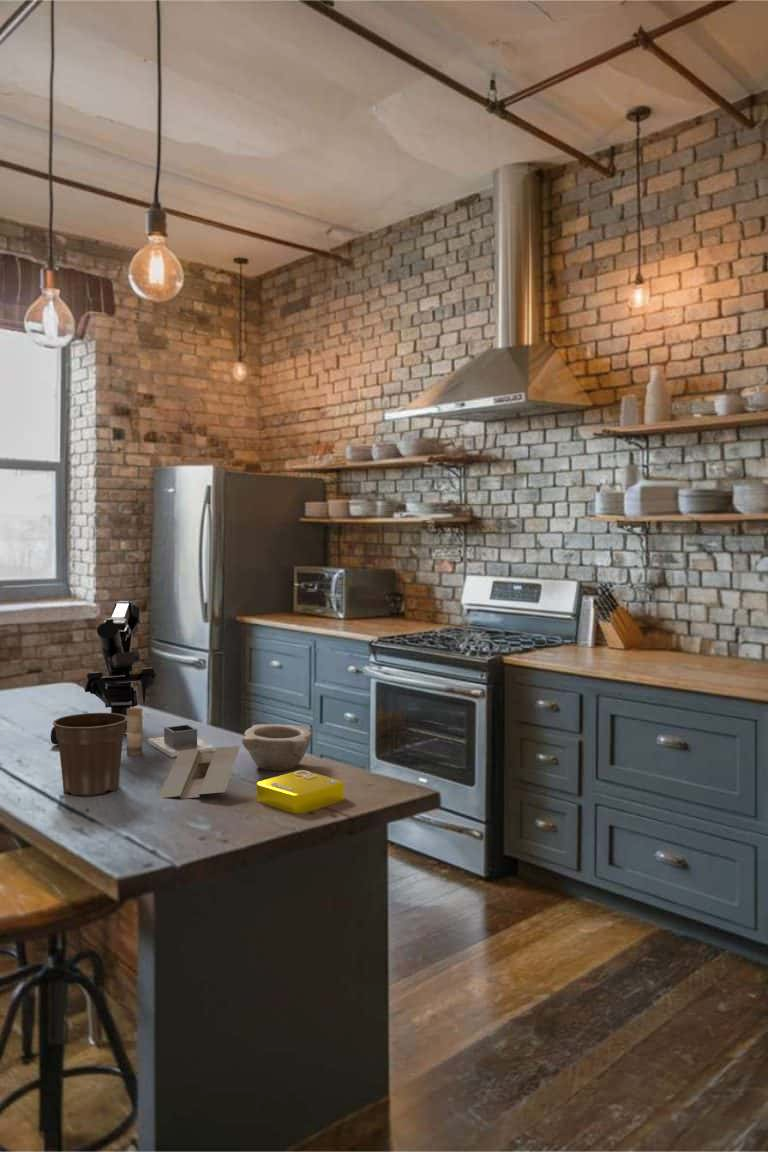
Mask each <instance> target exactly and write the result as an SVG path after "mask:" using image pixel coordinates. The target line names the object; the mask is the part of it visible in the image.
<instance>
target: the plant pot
mask: <svg viewBox="0 0 768 1152" xmlns="http://www.w3.org/2000/svg"><path fill="white" fill-rule="evenodd" d="M127 720H128V717H127V716H125V715H122V714H116V713H111V712H88V713H77V714H69V715H66V716H61V717H59V718H56V719H55V720H53V721H52V724H53V727H54V726H55V729H56V738H57V740H58V743H59V745H58V750H59V751H58V752H59V758H60V767H61V778H62V789H63V792H64V793H65V794H70V795H73V796H79V797H80V796H81V797H90V796H91V797H92V796H97V795H103V794H105V793H106V792H113V791H115V790H117V789H118V788H119V786H120V779H121V778H120V776H121V765H122V764H121V763H122V752H123V751H122V750H123V741H124V737H125V736H124V735H125V734H126V728H125V724H126V721H127Z"/></svg>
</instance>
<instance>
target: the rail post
mask: <svg viewBox="0 0 768 1152" xmlns="http://www.w3.org/2000/svg"><path fill="white" fill-rule="evenodd" d="M127 717H128V720H127V728H126V734H127V736H126V755H127V756H131V757H133V756H139V755H140V756H141V755H143V708H142V707H140V706H139V707H138V706H135V707H131V708H127Z"/></svg>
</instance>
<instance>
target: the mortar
mask: <svg viewBox="0 0 768 1152" xmlns="http://www.w3.org/2000/svg"><path fill="white" fill-rule="evenodd" d="M312 733H313V729H312V728H311V727H310V726H305V725H294V724H281V723H278V724H277V723H275V724H273V723H266V724H265V723H264V724H263V723H261V724H254V725H251V727H249V728H247V729H246V730H245V731H244V734H243V735H244V737H242V740H241V741H242V745H243V747H244V748H245V749H246V750H247V751H248V753H249V755H250V757H251V760H252V761H253V762H254V764H255V765H256V766H257V767H258V768H260V769H263V770H265V771H273V772H276V771H277V772H279V771H280V772H282V771H287V770H291V769H294V768H296V767H297V766H298V765H299V764H300V763H301V761H302V759H303V758H304V756H305V754H306V752H307V750H308V748H309V746H310V742H311V740H312V735H313V734H312Z"/></svg>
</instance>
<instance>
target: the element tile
mask: <svg viewBox="0 0 768 1152" xmlns="http://www.w3.org/2000/svg"><path fill="white" fill-rule="evenodd" d="M255 794H256V801H257V802H258V803H261V804H264V805H267V806H270V807H273V808H277V809H281V810H283V811H286V812H289V813H292V814H306V813H309V812H312V811H316V810H319V809H322V808H324V807H327V806H330V805H333V804H336V803H339V802H343V800H345V782H344V781H343V780H340V779H337V778H333V777H329V776H326V775H322V774H319V773H314V772H312V771H309V770H305V769H299V770H296V771H291V772H288V773H285V774H280V775H278V776H273V777H270V778H266V779H262V780H260V781H257V782H256V790H255Z"/></svg>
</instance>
